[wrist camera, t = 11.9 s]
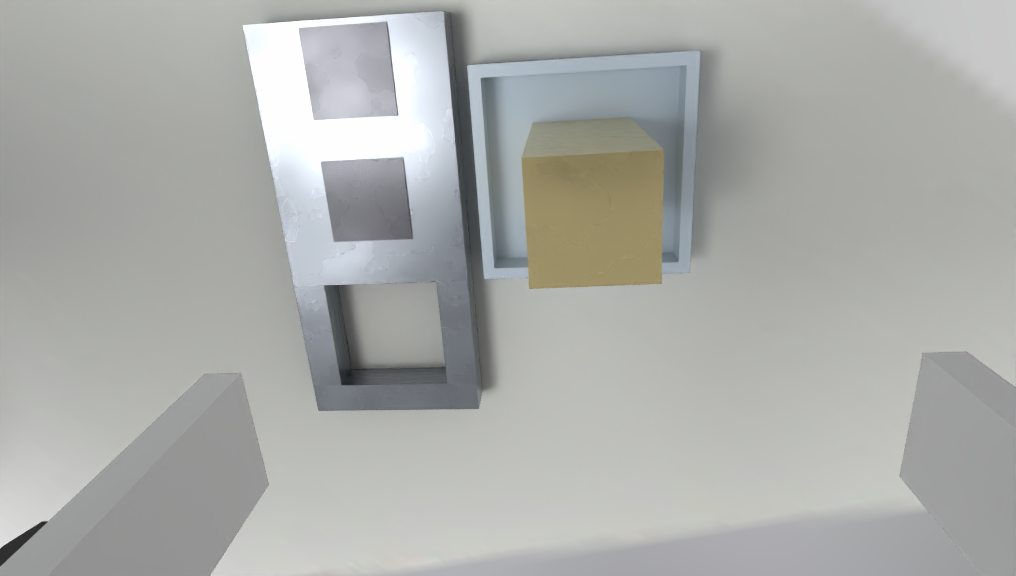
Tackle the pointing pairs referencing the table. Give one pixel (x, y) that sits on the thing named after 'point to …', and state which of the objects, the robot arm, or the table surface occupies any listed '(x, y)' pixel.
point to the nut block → (593, 204)
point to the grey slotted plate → (370, 190)
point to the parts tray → (580, 96)
